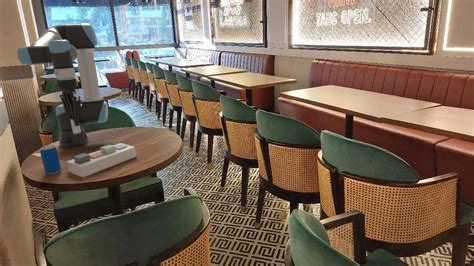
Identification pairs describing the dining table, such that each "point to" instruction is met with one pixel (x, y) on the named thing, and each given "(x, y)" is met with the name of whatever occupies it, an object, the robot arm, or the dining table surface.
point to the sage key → (107, 149)
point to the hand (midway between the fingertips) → (77, 132)
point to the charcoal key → (82, 158)
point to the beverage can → (50, 159)
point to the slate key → (120, 147)
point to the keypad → (101, 161)
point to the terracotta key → (96, 155)
